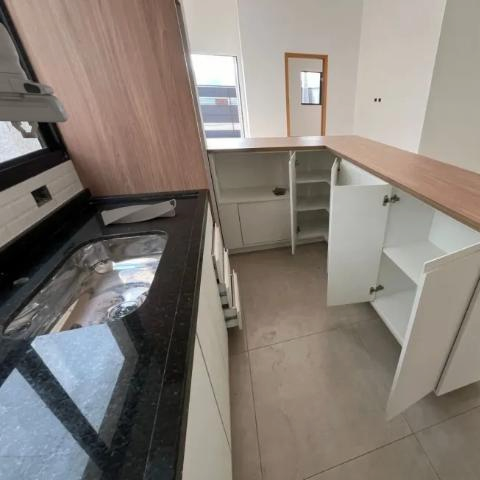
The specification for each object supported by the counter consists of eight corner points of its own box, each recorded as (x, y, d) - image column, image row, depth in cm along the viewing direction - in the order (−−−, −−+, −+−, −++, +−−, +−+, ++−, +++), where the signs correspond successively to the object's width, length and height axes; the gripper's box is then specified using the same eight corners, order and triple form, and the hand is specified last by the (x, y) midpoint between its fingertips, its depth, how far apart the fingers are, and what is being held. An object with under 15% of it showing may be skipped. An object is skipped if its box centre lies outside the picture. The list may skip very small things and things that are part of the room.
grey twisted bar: (98, 209, 107) (175, 199, 119) (103, 207, 114) (175, 197, 125) (105, 228, 110) (179, 216, 122) (109, 224, 116) (179, 214, 128)
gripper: (-55, 81, 67) (-24, 139, 73) (51, 87, 75) (70, 139, 81) (-38, 82, 72) (-11, 136, 78) (59, 88, 80) (76, 136, 86)
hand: (31, 138), depth 80 cm, fingers closed
